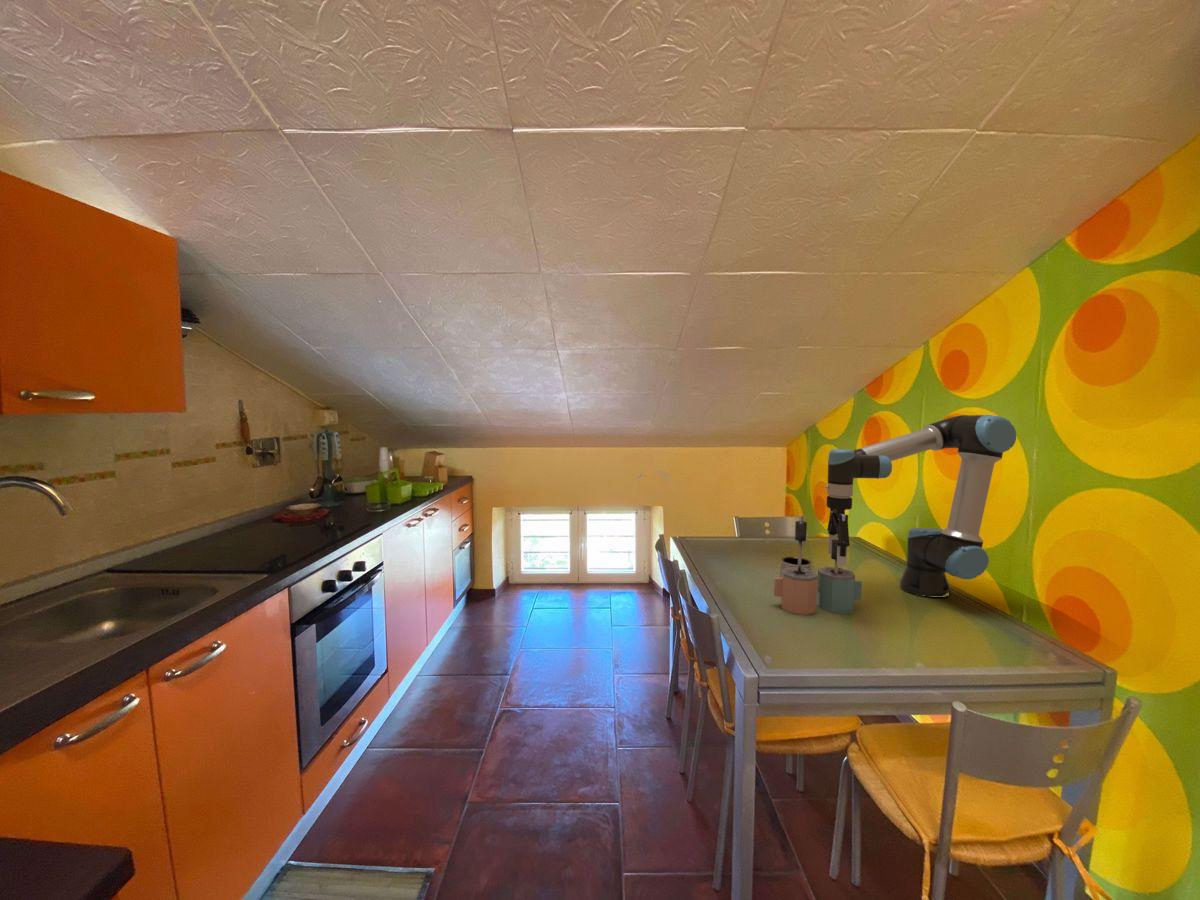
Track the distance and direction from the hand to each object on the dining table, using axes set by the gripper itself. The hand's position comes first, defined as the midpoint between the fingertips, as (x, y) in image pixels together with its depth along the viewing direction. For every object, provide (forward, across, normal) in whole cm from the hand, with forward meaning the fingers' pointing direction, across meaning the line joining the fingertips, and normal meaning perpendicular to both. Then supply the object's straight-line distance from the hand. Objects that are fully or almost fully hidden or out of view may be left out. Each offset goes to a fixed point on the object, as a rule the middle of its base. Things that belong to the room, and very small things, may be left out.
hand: (836, 559), depth 158 cm
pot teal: (+16, 0, +1) cm, 16 cm away
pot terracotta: (+16, +4, -13) cm, 21 cm away
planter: (+16, -18, -10) cm, 26 cm away
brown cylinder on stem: (+7, +4, -12) cm, 14 cm away
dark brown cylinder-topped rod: (+13, 0, 0) cm, 13 cm away
